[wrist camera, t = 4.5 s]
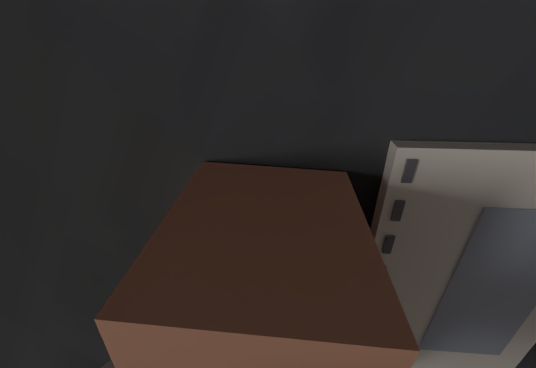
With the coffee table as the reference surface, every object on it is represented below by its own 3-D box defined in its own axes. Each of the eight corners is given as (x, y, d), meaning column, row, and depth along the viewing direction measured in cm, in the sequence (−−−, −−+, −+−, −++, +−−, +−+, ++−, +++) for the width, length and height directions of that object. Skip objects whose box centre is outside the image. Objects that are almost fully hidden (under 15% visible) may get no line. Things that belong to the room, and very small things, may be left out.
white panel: (385, 134, 9) (398, 148, 8) (640, 140, 9) (693, 156, 8) (340, 341, 15) (344, 367, 14) (491, 352, 14) (508, 379, 13)
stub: (203, 161, 9) (94, 319, 4) (346, 172, 9) (420, 351, 4) (216, 333, 14) (173, 505, 9) (310, 342, 14) (322, 524, 9)
